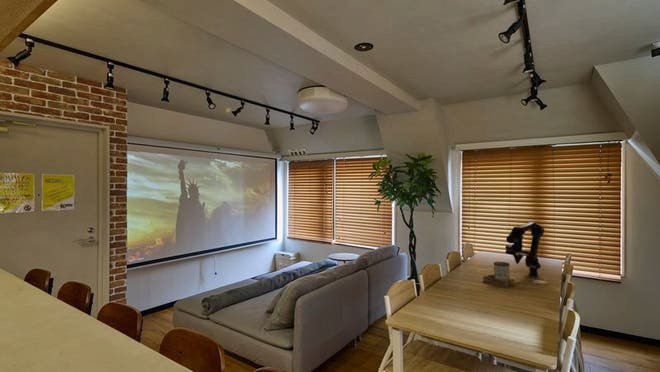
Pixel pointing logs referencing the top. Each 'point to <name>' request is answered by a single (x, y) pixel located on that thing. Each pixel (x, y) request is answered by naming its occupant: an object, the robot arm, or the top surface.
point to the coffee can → (501, 271)
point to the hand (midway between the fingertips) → (517, 263)
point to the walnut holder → (497, 281)
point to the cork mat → (539, 282)
